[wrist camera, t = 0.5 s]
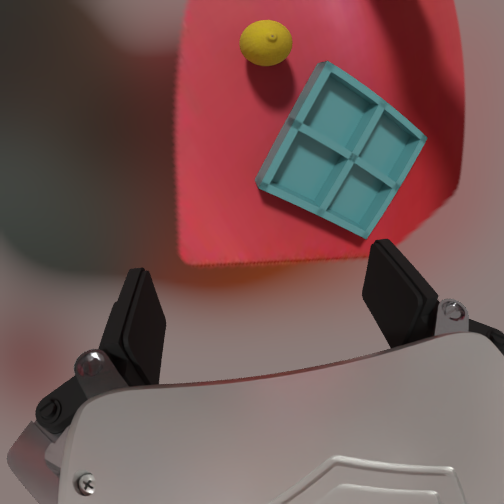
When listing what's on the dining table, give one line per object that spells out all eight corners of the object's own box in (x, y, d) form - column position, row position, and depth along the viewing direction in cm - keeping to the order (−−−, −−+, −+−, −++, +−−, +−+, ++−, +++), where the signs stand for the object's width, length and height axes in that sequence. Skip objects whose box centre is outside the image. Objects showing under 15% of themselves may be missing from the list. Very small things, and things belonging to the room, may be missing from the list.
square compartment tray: (317, 63, 29) (327, 60, 26) (413, 133, 34) (427, 137, 32) (254, 179, 37) (258, 188, 34) (356, 228, 42) (366, 239, 39)
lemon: (290, 58, 28) (310, 49, 22) (250, 76, 29) (260, 70, 23) (269, 22, 26) (284, 4, 19) (228, 40, 26) (232, 25, 20)
